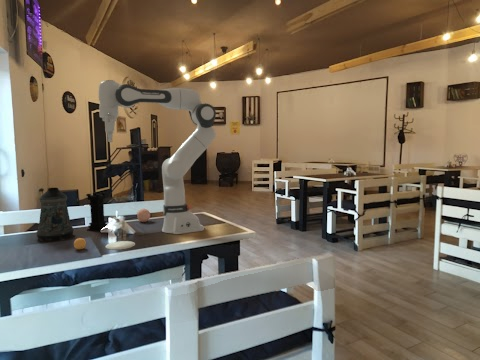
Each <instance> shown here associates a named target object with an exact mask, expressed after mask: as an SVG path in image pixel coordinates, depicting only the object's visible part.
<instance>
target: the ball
mask: <svg viewBox="0 0 480 360" xmlns="http://www.w3.org/2000/svg"><path fill="white" fill-rule="evenodd" d="M86 246H87V242H86V240H85V238H81V237H78V238H76V239H75V240H74V242H73V247H74V248H75V249H76V250H83V249H84V248H85V247H86Z"/></svg>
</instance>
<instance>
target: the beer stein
mask: <svg viewBox="0 0 480 360" xmlns="http://www.w3.org/2000/svg"><path fill="white" fill-rule="evenodd" d="M67 200H68V196H67V195H66V194H65V193H64V192H62V191H61V190H59V188H58V187H49V188H48V189H47V190H46V191H45V192H44V193H43V194H42V195H41V196H40V197H39V202H40V204H41V205H40V213H39V222H38V227H37V231H36V237H37V240H38V241H40V242H45V243H46V242H50V243H51V242H57V241H64V240H68V239H70V238H73V235H74V227H73V225H72V223H71V219H70V214H69V209H68V205H67Z"/></svg>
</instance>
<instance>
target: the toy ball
mask: <svg viewBox="0 0 480 360" xmlns="http://www.w3.org/2000/svg"><path fill="white" fill-rule="evenodd" d="M136 215H137V220H138V222H142V223H146V222H148V221H149V220H150V218H151V212H150V211H149V210H148V209H146V208H141V209H139V210H138V211H137V214H136Z"/></svg>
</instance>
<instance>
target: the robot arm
mask: <svg viewBox="0 0 480 360" xmlns="http://www.w3.org/2000/svg"><path fill="white" fill-rule="evenodd" d="M98 101H99V106H98V109H99V110H98V111H99V112H98V113H99V118H101V119H102V122H104V131H105V133H106V134H107V135H106V136H107V142H109V143H112V142H113V134H115V127H116V126H115V125H116V121H117V119H118V118H119V107H121V108H125V109H126V108H127V109H129V108H133V107H134V106H135V105H136V104H138V103H144V104H145V103H147V104H149V103H150V104H151V103H152V104H159V105H161V106H163V107H164V108H166V109H170V110H175V111H180V110H181V111H185V110H186V111H188V113H189V117H190V119H191V122H192V123H193V124H195V125H197V126H196V128H195V130H194V132H192V133H191V134H190V136H188V138H186V140H185V141H184V142H182V143H181V145H180V146H179V148H178V149H177V150H176V152H174V154H173V155H172V156H171V157H169V158H167V159H165V160H164V161H163V162H162V165H161V176H162V184H163V185H162V186H163V203H164V204H163V207H162V208H163V209H162V211H163V215H164V216H163V224H162V228H161V231H162V232H163V233H166V234H173V235H181V234H189V233H196V232H202V231H205V226H204V225H202V224H201V222H200V219H199V217H198V216H197V215H196V214H194V213H193V212H191V211H190V209H191V205H189V204H187V203H186V191H185V190H186V189H185V184H184V182H185V181H184V176H186V174H187V172H188V171H189V170H190V169H191V168H192V166H193V165H194V164H195V162H196V161H197V159H199V157H201V156H202V154H203V153H204V152H205V151H206V150H207V149H208V148H209V146H210V145H211V144H212V142H213V141H214V140H215V138H216V135H217V132H216V130H215V128H214V127H213V126H214V124H215V121H216V116H217V112H216V109H215V107H214V106H213V105H212V104H210V103H206V102H205V103H203V102H202V101H201V95H200V94H199V92H198V91H197V90H195V89H190V88H183V87H174V88H173V87H172V88H164V89H147V88H140V87H139V88H138V87H136V86H134V85H131V84H127V83H125V84H120V83H118V82H117V81H116V80H114V79H113V80H112V79H108V80H103V81H101V82H100V83H99V85H98Z"/></svg>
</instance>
